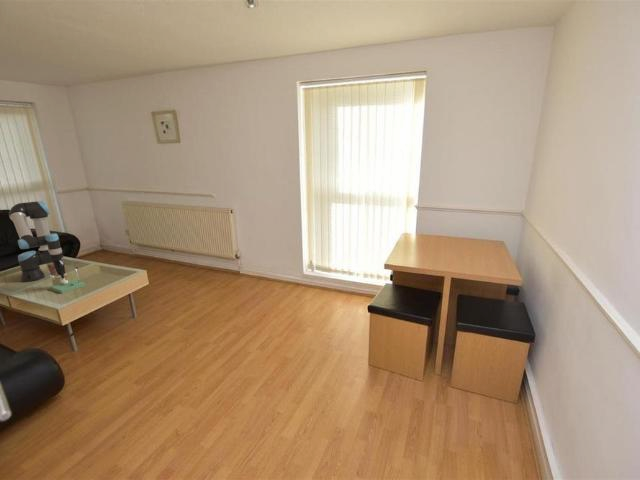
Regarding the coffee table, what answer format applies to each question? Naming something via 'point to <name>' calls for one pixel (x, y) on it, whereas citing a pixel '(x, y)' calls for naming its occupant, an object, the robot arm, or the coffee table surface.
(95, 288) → the coffee table surface
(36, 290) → the coffee table surface
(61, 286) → the green board
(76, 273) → the pin
